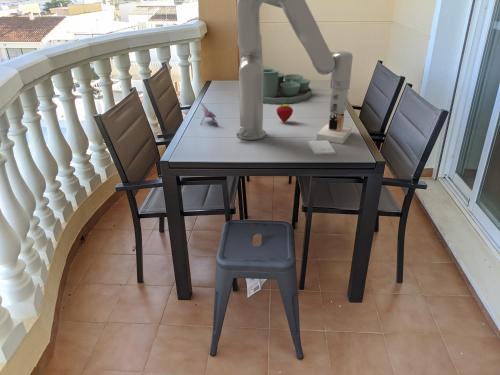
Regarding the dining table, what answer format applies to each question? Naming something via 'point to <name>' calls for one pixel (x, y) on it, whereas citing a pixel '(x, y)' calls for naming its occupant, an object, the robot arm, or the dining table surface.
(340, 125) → the plug
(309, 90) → the tea set
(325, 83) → the dining table surface
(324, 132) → the socket
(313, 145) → the external hard drive
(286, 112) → the strawberry
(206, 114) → the lily
